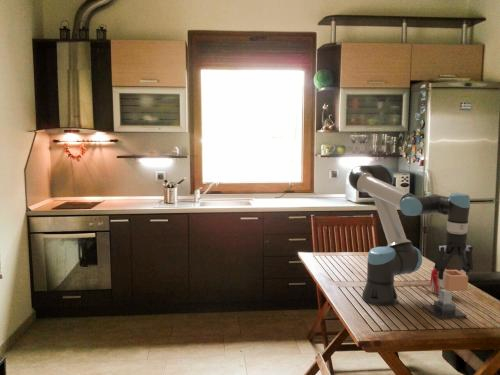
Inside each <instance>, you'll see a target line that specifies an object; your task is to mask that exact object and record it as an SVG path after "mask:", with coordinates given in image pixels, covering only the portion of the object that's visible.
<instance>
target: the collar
mask: <svg viewBox="0 0 500 375" xmlns="http://www.w3.org/2000/svg"><path fill="white" fill-rule="evenodd" d="M444 272H446V278H445V288H444V289H446V290H447V291H451V292H460V291H461V292H463V291H468V284H469V275H465V274H463V273H462V272H460V270H458V269H446V270H445V271H444ZM438 274H439V271H438ZM439 283H440V279H439V278H438V283H437V284H438V285H439Z"/></svg>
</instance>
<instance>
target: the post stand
mask: <svg viewBox="0 0 500 375" xmlns="http://www.w3.org/2000/svg"><path fill="white" fill-rule="evenodd" d="M452 299H453V291H447V290H446V289H439V294H438V300H433V303H434V304H429V305H428V304H427V305H426V304H423V309H425V311H427V312H428V313H430V314H432V316H434V317H436V318H437V319H438V318H439V319H438V320H442V319H441V318H448V319H459V318H458V317H466V318H467V314H466V313H463V312H462V311H461V310H459V309H458V308H457V307H456V306H457V305H455V304H454V303H452Z"/></svg>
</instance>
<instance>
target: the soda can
mask: <svg viewBox="0 0 500 375" xmlns="http://www.w3.org/2000/svg"><path fill="white" fill-rule="evenodd" d="M445 270H447V268H446V269H445ZM437 283H438V270H436V269H435V268H434V266H432V269H431V272H430V284H429V285H430V291H431V292H432V293H433V294H436V295H439V289H444V288H442V287H440V286H439V285H438V284H437Z"/></svg>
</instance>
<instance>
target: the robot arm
mask: <svg viewBox="0 0 500 375" xmlns="http://www.w3.org/2000/svg"><path fill="white" fill-rule="evenodd" d="M394 180H395V176H394V173H393V171H392V169H390V168H389V167H388V166H387V165H381V164H375V165H373V164H371V165H358V166H356V167H354V168H353V169H352V170H351V171H350V172H349V175H348V182H349V184H350V186H351V187H352V188H353V189H355V190H356V191H358V192H360V193H367V194H368V196H369V197H372V199H373V201H374V205H375V207H376V211H377V214H378V216H379V220H380V222H381V226H382V229H383V232H384V235H385V238H386V241H387V245H386V246H376V247H372V248H370V249H369V251H368V253H367V259H366V261H367V270H366V271H367V272H366V284H365V286H364V288H363V290H362V292H361V293H362V295H361V297H362V300H363V301H364V302H366V303H368V304H370V305H374V306H385V307H387V306H388V307H389V306H394V305H396V304H397V303H398V295H397V291H396V288H395V287H396V286H395V285H394V284H395V276H401V275H405V274H406V275H408V274H412V273H416V272H417V271H418V270H419V269H420V268H421V265H423V255H422V253H421V251H420V249H419V248H417V247H415V246H413V243H412V240H409V239H407V236H406V233H405V231H404V227H403V224H402V221H401V219H400V217H399V213H398V210H397V208H398V209H400V211H401V213H402V214H403V215H404V216H408V217H410V216H411V217H416V216H425V215H433V214H435V215H436V214H437V215H443V216H447V220H446V221H447V223H446V233H445V235H446V236H445V244H444V245H440V244H439V245H438V247H437V250H438V251H437V255H436V259H435V263H434V266H433V267H434V268H435V269H436V270H438V271H439V274H438V278H439V279H440V283H439V286H440V287H442V288H445V278H446V272H444V271H445V269H446V270H447V267H448V264H449V263H450V261H451V259H452V258H453V256H457V257H458V260H459V263H460V265H461V269H460V270H459V271H460V272H462V273H463V274H465V275H467V276H469V274H468V273H470V271H473V269H474V265H473V264H474V263H473V249H474V247H473V246H471V245H469V244H467V241H468V240H467V238H468V226H469V215H470V208H471V197H470V195H469V194H466V193H458V192H456V193H455V192H453V193H450V194H449V196H444V195H439V194H436V193H435V194H433V193H427V194H425V195H423V196H420V195H419V196H417V195H416V194H413V193H410V192H408V191H406V190H403V189H401V188H399V187H397V186H394V185H393V184H394V182H395V181H394ZM464 251H465V252H464Z"/></svg>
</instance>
